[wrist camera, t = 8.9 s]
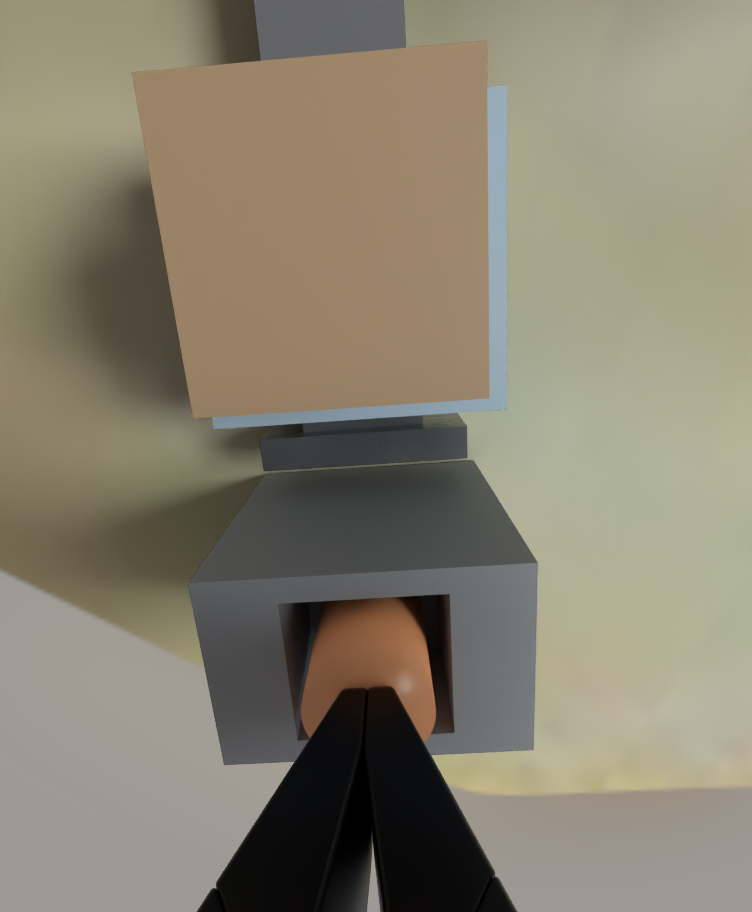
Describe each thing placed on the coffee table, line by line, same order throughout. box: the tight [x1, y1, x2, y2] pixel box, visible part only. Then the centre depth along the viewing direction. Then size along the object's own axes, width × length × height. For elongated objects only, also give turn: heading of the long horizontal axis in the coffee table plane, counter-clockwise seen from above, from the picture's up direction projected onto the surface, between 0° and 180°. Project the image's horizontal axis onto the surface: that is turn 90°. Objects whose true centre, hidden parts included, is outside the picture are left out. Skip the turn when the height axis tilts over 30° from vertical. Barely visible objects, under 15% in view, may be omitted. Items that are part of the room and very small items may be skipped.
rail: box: [254, 0, 467, 471], centre depth 10 cm, size 5×20×2 cm, turn 4°
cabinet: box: [188, 461, 538, 765], centre depth 12 cm, size 6×4×6 cm, turn 94°
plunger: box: [301, 596, 436, 743], centre depth 9 cm, size 2×2×3 cm
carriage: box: [132, 41, 507, 429], centre depth 9 cm, size 6×6×7 cm
